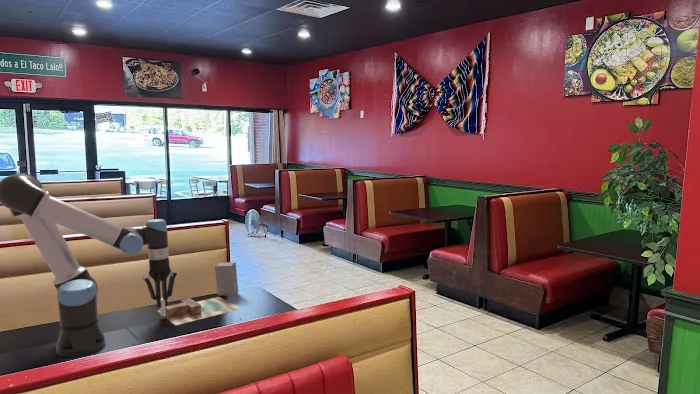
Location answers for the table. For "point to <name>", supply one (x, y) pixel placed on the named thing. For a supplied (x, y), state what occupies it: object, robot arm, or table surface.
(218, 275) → the skincare box
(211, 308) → the board
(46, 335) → the table surface
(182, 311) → the t block
